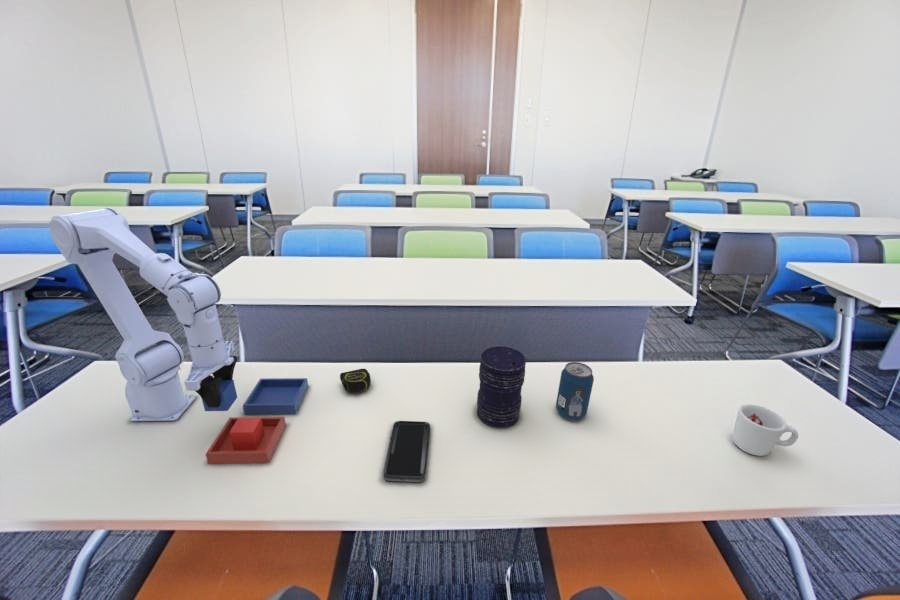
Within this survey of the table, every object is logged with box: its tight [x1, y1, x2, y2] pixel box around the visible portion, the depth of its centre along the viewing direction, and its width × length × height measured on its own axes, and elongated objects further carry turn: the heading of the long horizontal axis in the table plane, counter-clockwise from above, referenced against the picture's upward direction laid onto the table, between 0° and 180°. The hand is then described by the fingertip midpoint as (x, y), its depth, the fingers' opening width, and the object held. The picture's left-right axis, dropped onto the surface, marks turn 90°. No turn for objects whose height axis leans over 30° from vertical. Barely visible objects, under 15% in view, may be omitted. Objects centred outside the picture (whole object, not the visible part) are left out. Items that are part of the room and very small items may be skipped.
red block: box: [229, 416, 264, 450], centre depth 79 cm, size 4×4×4 cm
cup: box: [732, 403, 799, 457], centre depth 82 cm, size 11×8×8 cm
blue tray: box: [242, 377, 309, 416], centre depth 92 cm, size 11×10×2 cm
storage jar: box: [476, 346, 527, 429], centre depth 88 cm, size 10×10×15 cm
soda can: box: [555, 361, 595, 422], centre depth 89 cm, size 7×7×12 cm
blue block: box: [201, 379, 238, 412], centre depth 80 cm, size 4×4×4 cm
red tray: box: [205, 416, 287, 465], centre depth 80 cm, size 11×10×2 cm
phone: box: [382, 420, 431, 483], centre depth 79 cm, size 8×1×15 cm
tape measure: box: [339, 368, 372, 394], centre depth 97 cm, size 7×7×4 cm
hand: (220, 398), depth 80 cm, fingers closed on blue block, 4 cm apart
